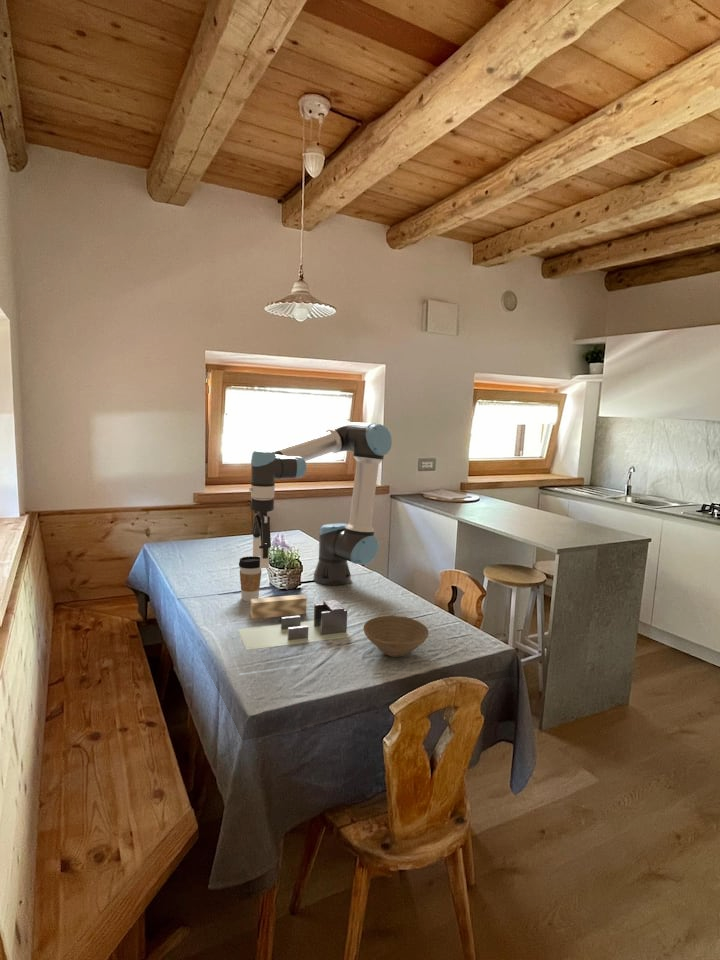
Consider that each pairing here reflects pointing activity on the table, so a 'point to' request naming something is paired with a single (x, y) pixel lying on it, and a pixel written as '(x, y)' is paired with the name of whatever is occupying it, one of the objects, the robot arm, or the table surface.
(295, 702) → the table surface
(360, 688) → the table surface
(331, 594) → the table surface
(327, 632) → the end cap
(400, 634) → the bowl
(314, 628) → the sage board
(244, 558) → the coffee cup
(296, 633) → the open saddle
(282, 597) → the pine slat
